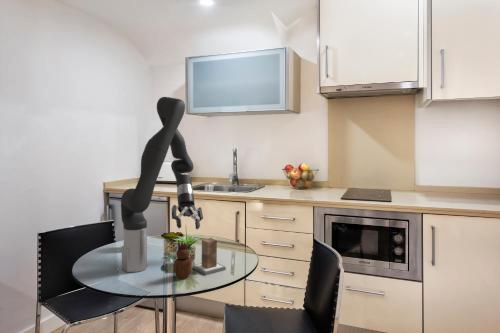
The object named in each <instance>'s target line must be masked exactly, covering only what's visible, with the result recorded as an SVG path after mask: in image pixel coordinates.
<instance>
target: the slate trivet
mask: <svg viewBox="0 0 500 333" xmlns="http://www.w3.org/2000/svg"><path fill="white" fill-rule="evenodd" d="M226 268H227V267H226V266H225V265H223V264H221V263H219V262H217V266H216V267H212V268H208V269H207V268H205V267H203V266H202V262H200V263H197V264H192V269H193V270H195V271H197V272H199V273H201V274H202V275H204V276H207V275H208V276H209V275H212V274H216V273H220V272H223V271H226V270H227V269H226Z"/></svg>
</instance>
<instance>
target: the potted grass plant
mask: <svg viewBox="0 0 500 333" xmlns="http://www.w3.org/2000/svg"><path fill="white" fill-rule="evenodd" d="M175 255H176V259H175V260H174V262H173V270H174V271H173V272H174V275H175V276H176V278H178V279H186V278H188V277H189V276H190V274H191V272H192V268H193V263H192V260H191V258H190V250H189V249H188V245H187V244H186V243H185V242H184V241H183V240H181V242H180V239H178V240H177V250H176V254H175Z"/></svg>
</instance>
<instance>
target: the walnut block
mask: <svg viewBox="0 0 500 333" xmlns="http://www.w3.org/2000/svg"><path fill="white" fill-rule="evenodd" d="M217 250H218V240H217V239H214V238H211V237H209V238H205V239H201V263H202V266H203V267H205V268H207V269H208V268H212V267H216V266H217V263H218V262H217V260H218V259H217V257H218V251H217Z"/></svg>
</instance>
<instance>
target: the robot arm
mask: <svg viewBox="0 0 500 333" xmlns="http://www.w3.org/2000/svg"><path fill="white" fill-rule="evenodd" d="M185 110H186V103H185V102H184V100H183V99H181V98H180V99H179V98H176V97H169V96H161V97H159V99H158V100H157V102H156V112H157V114H158V117H159V120H160V122H161V125H162V127H161V128H160V129H159V130H158V131H157V132H156V133H155V134H153V136H151V138H149V140H148V141H147V142H146V144H145V147H144V149H143V152H142V155H141V158H140V175H139V179H138V182H137V184H136V186H135V187H134V188H128V189H126V190H125V191H124V192H123V193H122V194H121V199H120V214H121V222H122V224H123V227H122V228H123V245H122V246H121V269H122V270H123V271H124V272H126V273H136V272H137V273H139V272H142V271H144V270H146V269H147V268H148V221H147V219H146V218H145V216H144V214H143V212H145V211H146V210H147V209H148V208H149V207H150V204H151V201H152V197H153V193H154V190H155V188H156V187H155V186H156V182H157V179H158V178H159V175H160V172H161V169H162V167H163V165H164V162H165V159H166V157H167V155H168V152H169V149H170V152H171V154H172V157H173V158H174V160H172V162H171V164H170V167H171V171H172V173H173V175H174V178H175V182H176V196H177V205H176V204H173V205H172V207H171V219H172V220H175V222H176V227H177V229H182V219H181V218H182V216H183V217H188V218H189V217H190V218H191V219H193V220H194V223H195V226H194V227H195V230H199V229H200V227H201V223H200V222H201V221H202V220H203V219H204V215H203V210H202V209H203V208H202V207H201V206H199V207H196V205H195V204H196V203H195V194H194V189H193V184H192V177H191V176H190V175H189V174H188V173H191V172H192V171H193V170H194V162H193V161H192V159H191V157H190V155H189V154H188V150H187V145H186V141H185V139H184V137H183V135H182V134H181V132H180V130H179V129H178V127H179V125H180V124H181V122H182V119H183V117H184V114H185ZM177 211H178V212H179V213H178V215H177Z"/></svg>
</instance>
